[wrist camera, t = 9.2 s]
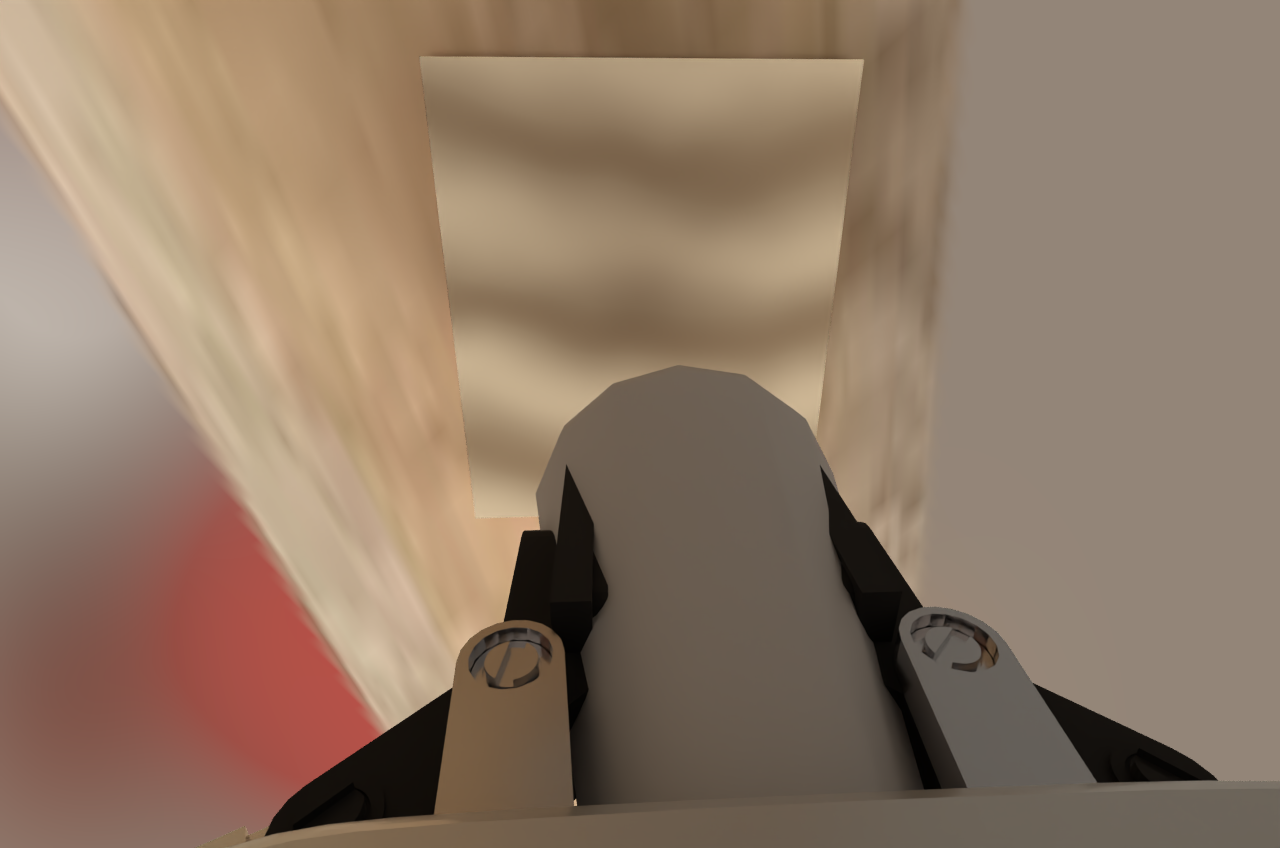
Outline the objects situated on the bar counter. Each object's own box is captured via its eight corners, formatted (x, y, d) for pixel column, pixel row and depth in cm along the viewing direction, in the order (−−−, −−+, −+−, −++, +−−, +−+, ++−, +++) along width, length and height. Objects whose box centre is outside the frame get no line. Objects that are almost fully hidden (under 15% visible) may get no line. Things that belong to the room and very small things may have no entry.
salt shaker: (834, 495, 16) (1566, 1648, 4) (627, 594, 16) (682, 1775, 5) (731, 283, 13) (1740, 1480, 1) (497, 410, 14) (-43, 1791, 2)
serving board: (430, 61, 23) (419, 56, 21) (848, 63, 23) (863, 59, 22) (481, 500, 30) (475, 518, 29) (798, 493, 31) (806, 510, 29)
